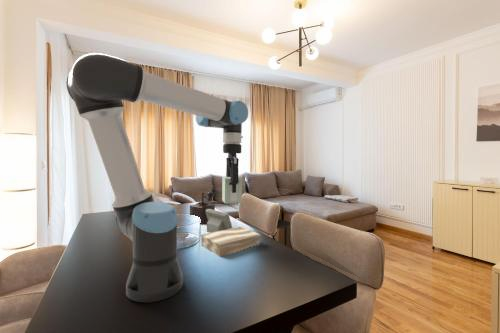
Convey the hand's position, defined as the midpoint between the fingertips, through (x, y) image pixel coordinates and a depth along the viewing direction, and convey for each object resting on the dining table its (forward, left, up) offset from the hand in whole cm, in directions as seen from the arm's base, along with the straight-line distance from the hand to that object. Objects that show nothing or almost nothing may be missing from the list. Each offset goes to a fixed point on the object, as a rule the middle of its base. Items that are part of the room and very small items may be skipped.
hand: (231, 198), depth 104 cm
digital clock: (+20, +2, -20) cm, 28 cm away
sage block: (0, 0, -1) cm, 1 cm away
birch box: (0, 0, -20) cm, 20 cm away
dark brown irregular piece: (+39, +7, -20) cm, 44 cm away
